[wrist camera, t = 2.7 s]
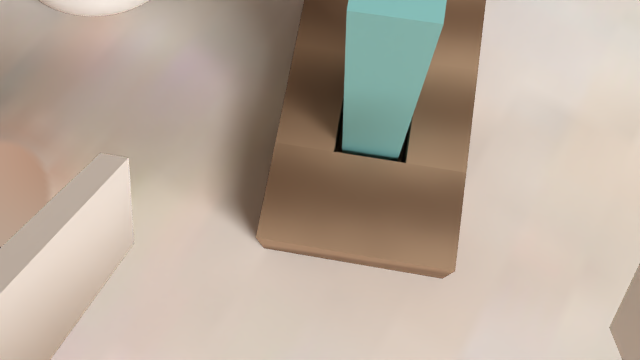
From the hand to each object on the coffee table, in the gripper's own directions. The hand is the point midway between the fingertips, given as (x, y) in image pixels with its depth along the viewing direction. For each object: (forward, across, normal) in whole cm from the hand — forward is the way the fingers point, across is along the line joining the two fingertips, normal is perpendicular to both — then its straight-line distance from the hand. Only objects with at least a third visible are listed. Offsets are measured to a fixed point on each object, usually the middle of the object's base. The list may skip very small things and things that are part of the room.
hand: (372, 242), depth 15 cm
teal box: (+19, 0, -5) cm, 20 cm away
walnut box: (+19, 0, -6) cm, 20 cm away
